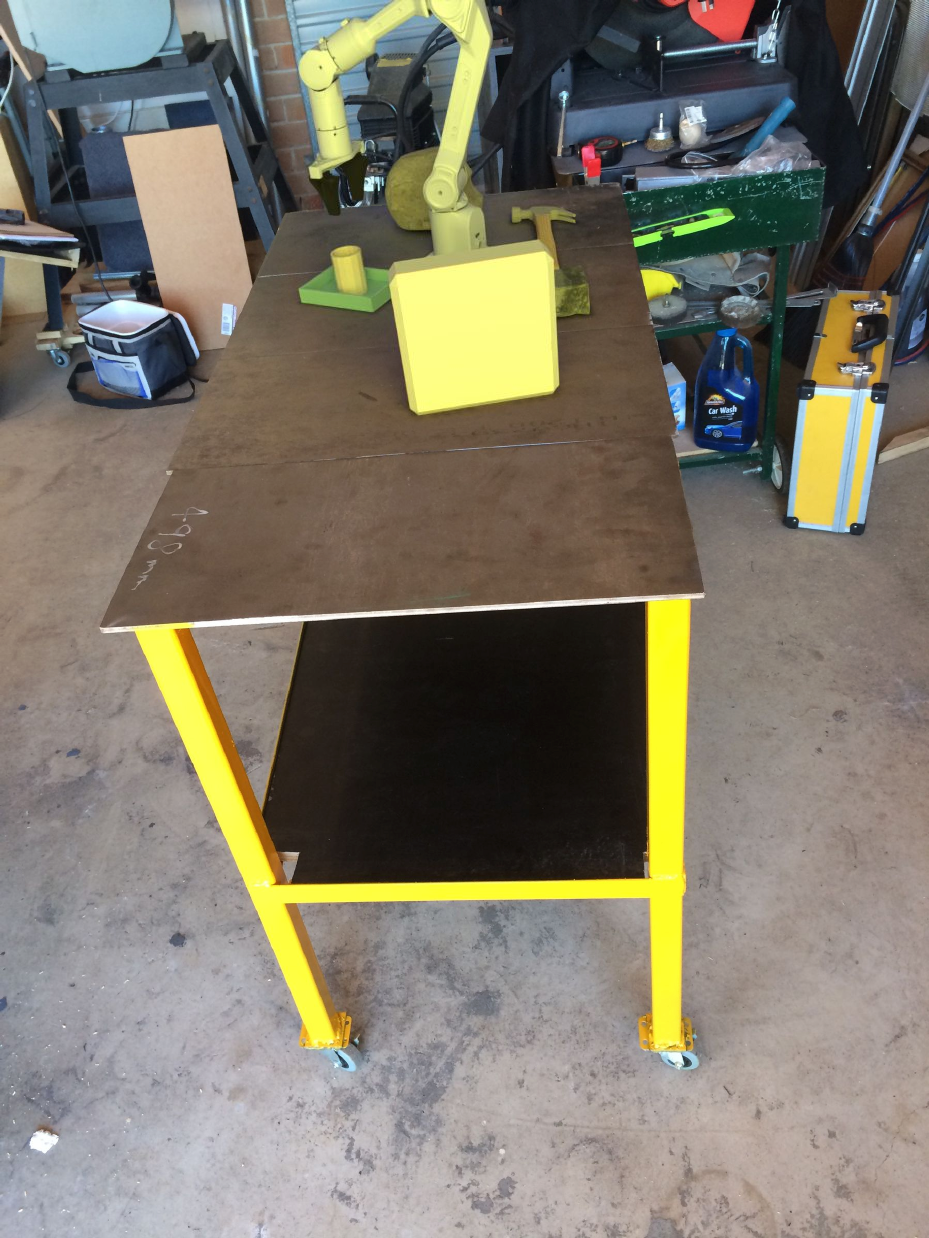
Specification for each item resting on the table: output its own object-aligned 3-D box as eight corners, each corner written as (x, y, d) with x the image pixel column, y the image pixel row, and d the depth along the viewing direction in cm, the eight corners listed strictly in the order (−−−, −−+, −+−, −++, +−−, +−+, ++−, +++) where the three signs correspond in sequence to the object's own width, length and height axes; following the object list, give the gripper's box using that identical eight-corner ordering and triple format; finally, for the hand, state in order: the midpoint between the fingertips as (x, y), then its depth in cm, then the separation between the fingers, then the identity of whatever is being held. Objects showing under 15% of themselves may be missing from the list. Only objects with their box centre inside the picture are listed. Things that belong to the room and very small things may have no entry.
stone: (386, 236, 184) (373, 155, 174) (396, 223, 189) (384, 143, 179) (479, 234, 179) (471, 150, 169) (487, 220, 184) (479, 138, 174)
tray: (407, 285, 165) (405, 271, 163) (373, 312, 158) (370, 298, 156) (337, 277, 171) (334, 263, 170) (301, 302, 164) (298, 288, 163)
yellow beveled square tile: (550, 371, 136) (543, 231, 123) (561, 397, 130) (555, 253, 117) (407, 393, 136) (384, 256, 122) (412, 421, 130) (388, 280, 116)
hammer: (585, 278, 160) (573, 216, 183) (586, 261, 159) (573, 201, 181) (516, 281, 161) (511, 219, 183) (515, 265, 159) (511, 204, 181)
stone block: (496, 303, 155) (493, 272, 152) (583, 293, 155) (582, 261, 151) (499, 326, 149) (496, 294, 145) (590, 315, 148) (589, 283, 145)
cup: (373, 286, 165) (366, 247, 160) (357, 299, 162) (349, 259, 157) (349, 283, 167) (341, 244, 162) (332, 296, 164) (324, 256, 159)
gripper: (336, 113, 168) (350, 192, 177) (288, 138, 159) (305, 220, 168) (368, 114, 165) (381, 194, 174) (321, 140, 156) (337, 223, 165)
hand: (346, 207), depth 171 cm, fingers open, 7 cm apart
